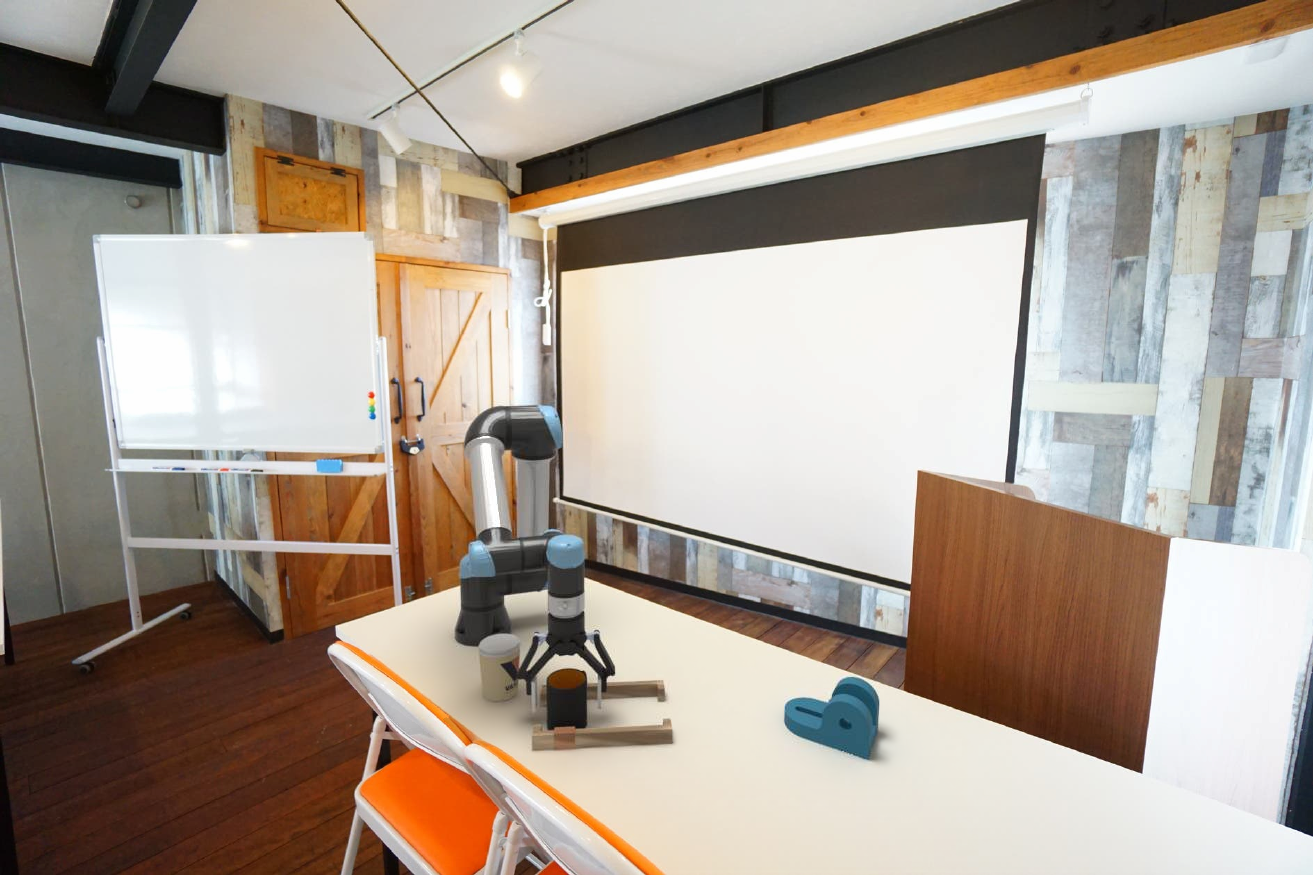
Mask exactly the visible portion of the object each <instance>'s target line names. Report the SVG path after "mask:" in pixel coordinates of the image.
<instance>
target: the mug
mask: <svg viewBox="0 0 1313 875" xmlns="http://www.w3.org/2000/svg"><path fill="white" fill-rule="evenodd" d="M587 683H588V674H587V672H586V671H585V670H581V669H579V668H573V667H571V668H570V667H567V668H566V667H565V668H561V669H557V670H554V671H552V672H551V673H550V674H549V675H548V676H547V677H546V684H545V685H546V688H547V706H546V729H547V730H554V729H555V727H575V729H585V728H587V725H588V699H587Z"/></svg>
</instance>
